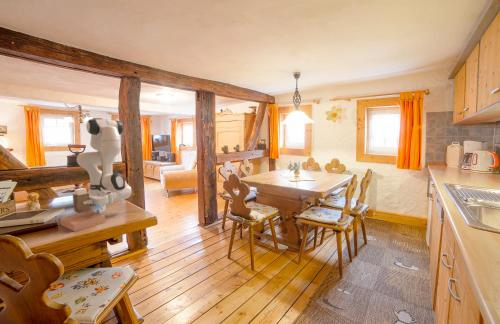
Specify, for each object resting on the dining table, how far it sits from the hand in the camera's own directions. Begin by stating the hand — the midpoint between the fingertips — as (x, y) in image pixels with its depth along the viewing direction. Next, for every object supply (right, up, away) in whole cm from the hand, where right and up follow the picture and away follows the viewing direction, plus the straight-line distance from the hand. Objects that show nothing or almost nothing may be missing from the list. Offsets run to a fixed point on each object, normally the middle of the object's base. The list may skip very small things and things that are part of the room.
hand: (79, 202), depth 138 cm
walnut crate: (+1, -5, +1) cm, 6 cm away
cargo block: (0, +4, 0) cm, 5 cm away
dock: (0, -13, +2) cm, 13 cm away
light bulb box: (-5, -11, +23) cm, 26 cm away
